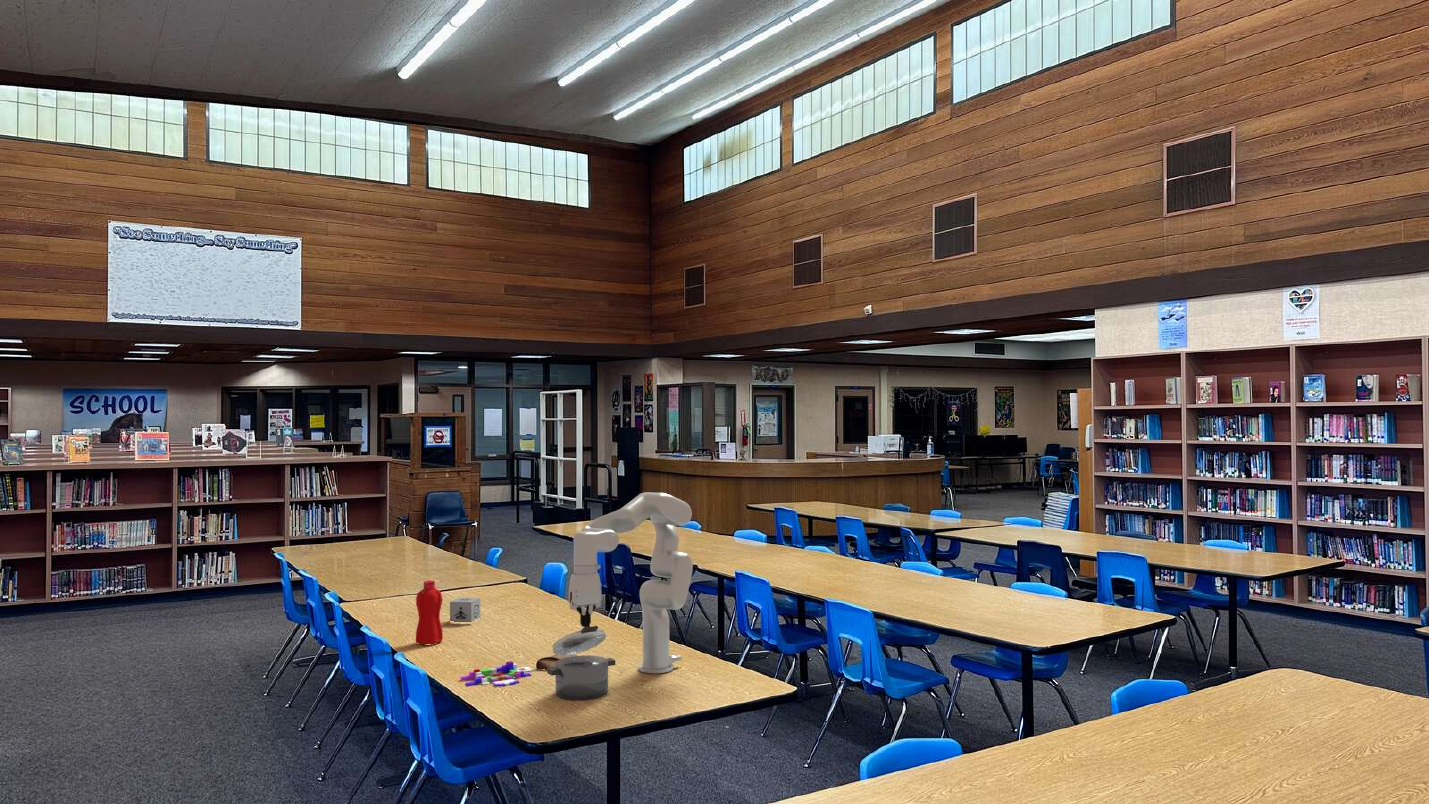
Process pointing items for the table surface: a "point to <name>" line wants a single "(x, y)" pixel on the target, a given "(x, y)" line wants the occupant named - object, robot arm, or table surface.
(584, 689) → the pot
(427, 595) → the water bottle
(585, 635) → the lid
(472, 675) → the building block set
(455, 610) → the icon cube
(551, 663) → the sunglasses case
